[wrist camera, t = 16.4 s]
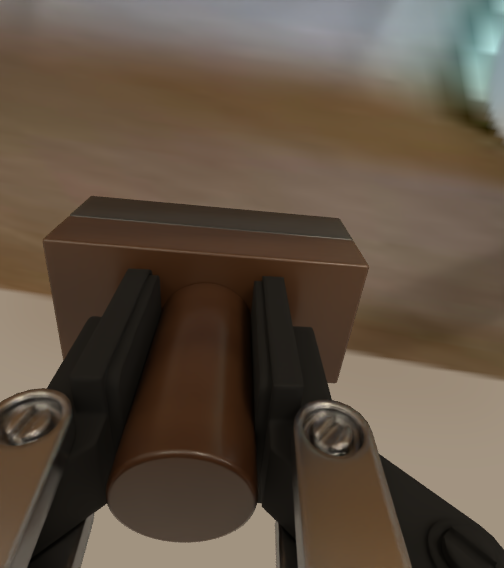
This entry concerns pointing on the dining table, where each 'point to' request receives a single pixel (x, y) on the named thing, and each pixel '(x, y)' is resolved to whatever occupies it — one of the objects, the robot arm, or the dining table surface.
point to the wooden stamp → (199, 342)
